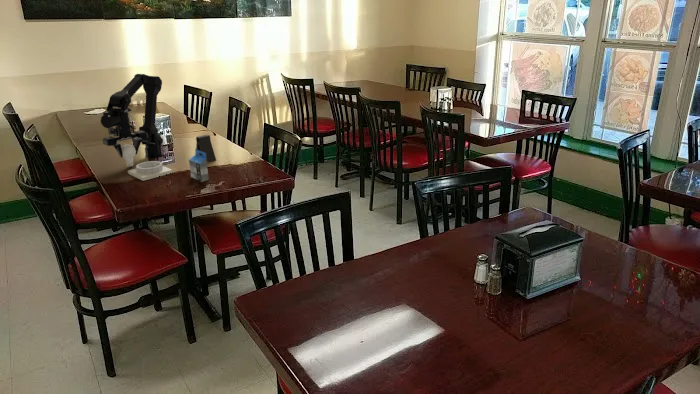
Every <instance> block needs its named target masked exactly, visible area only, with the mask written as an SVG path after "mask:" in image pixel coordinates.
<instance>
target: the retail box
mask: <svg viewBox="0 0 700 394" xmlns="http://www.w3.org/2000/svg"><path fill="white" fill-rule="evenodd" d="M194 150H195V154H194V155H193V156H192V157H190V158H189V159H188V163H189V164H188V165H189V170H190V178H191V179H194V180H196V181H199V182H200V183H204V182H205V183H206V182H209V171H208V162H207V160H206V153H204V152H202V151H199V150H196V148H195V149H194ZM199 153H201V154H202V155H203V156H202V155H200V154H199Z"/></svg>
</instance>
